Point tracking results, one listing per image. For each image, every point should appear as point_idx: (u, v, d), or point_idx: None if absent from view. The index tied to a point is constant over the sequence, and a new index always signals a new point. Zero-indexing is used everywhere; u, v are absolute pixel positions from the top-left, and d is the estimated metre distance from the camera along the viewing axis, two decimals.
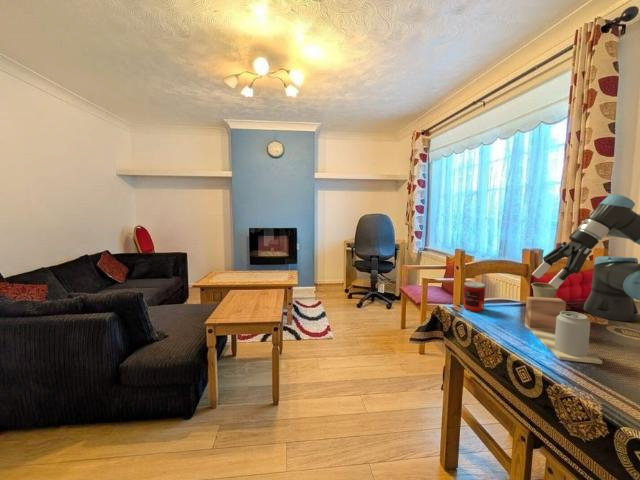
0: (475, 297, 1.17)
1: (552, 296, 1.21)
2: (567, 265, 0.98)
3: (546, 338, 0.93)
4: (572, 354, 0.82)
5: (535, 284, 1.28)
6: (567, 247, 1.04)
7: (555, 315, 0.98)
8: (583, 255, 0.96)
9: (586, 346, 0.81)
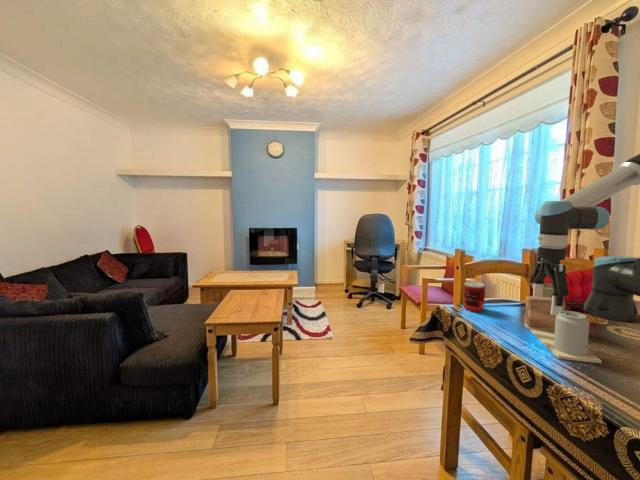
0: (475, 297, 1.17)
1: None
2: (554, 289, 0.92)
3: (545, 337, 0.93)
4: (571, 353, 0.82)
5: None
6: (543, 266, 0.99)
7: None
8: (561, 274, 0.90)
9: (585, 345, 0.82)
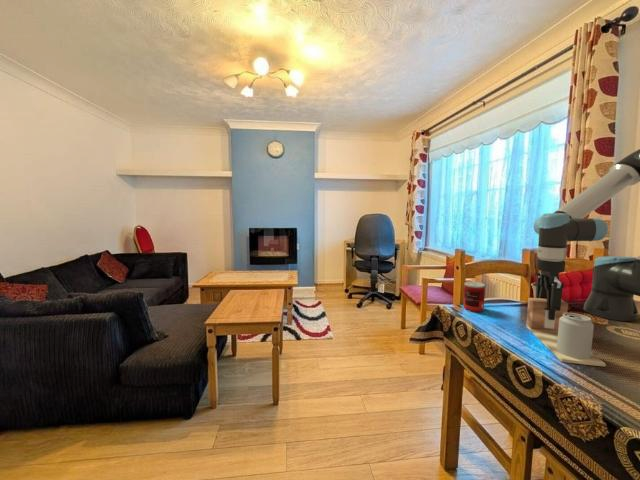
0: (475, 297, 1.17)
1: None
2: (547, 304, 0.96)
3: (548, 340, 0.91)
4: (575, 356, 0.81)
5: (535, 284, 1.28)
6: (543, 277, 0.99)
7: (557, 316, 0.97)
8: (557, 291, 0.93)
9: (589, 348, 0.80)
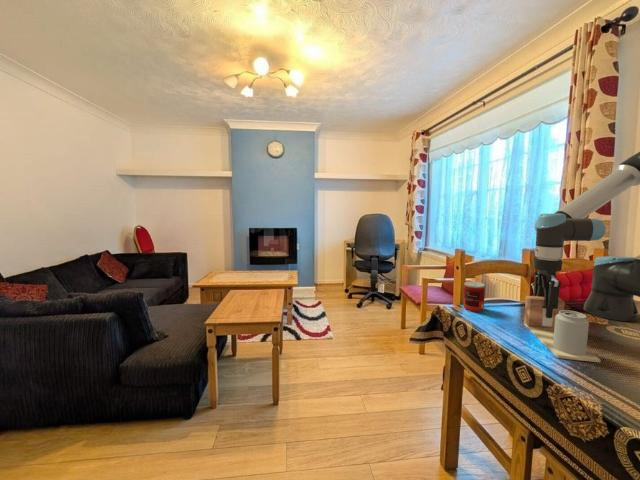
0: (475, 297, 1.17)
1: None
2: (545, 302, 0.98)
3: (545, 337, 0.93)
4: (571, 353, 0.83)
5: None
6: (540, 276, 1.01)
7: (554, 314, 0.99)
8: (555, 289, 0.95)
9: (584, 345, 0.82)
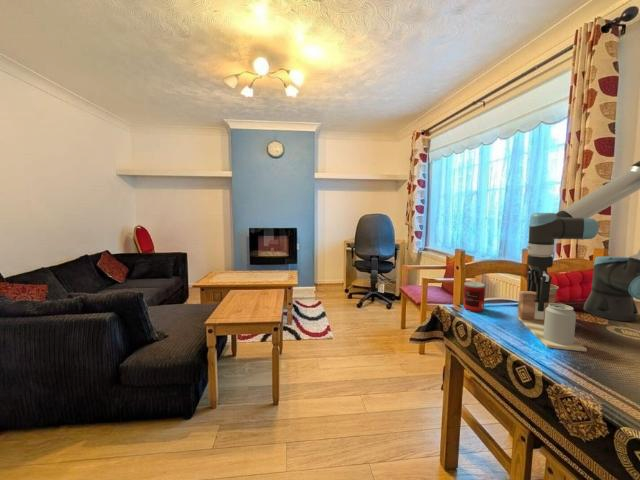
0: (475, 297, 1.17)
1: None
2: (537, 296, 1.04)
3: (536, 329, 0.99)
4: (559, 342, 0.89)
5: None
6: (533, 272, 1.07)
7: (545, 308, 1.05)
8: (546, 284, 1.00)
9: (572, 335, 0.88)
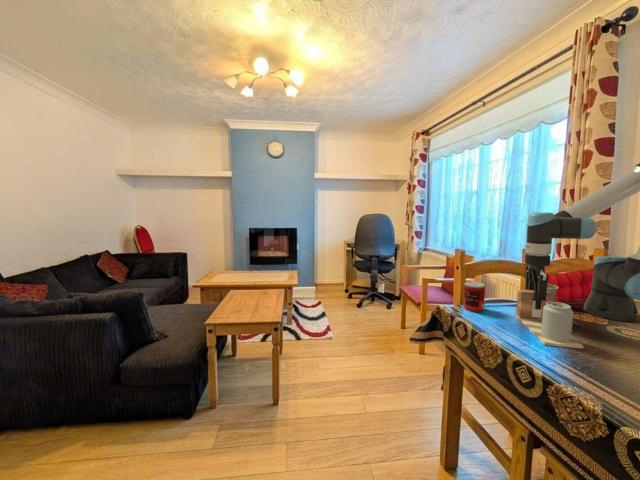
0: (475, 297, 1.17)
1: None
2: (534, 295, 1.06)
3: (534, 327, 1.01)
4: (554, 340, 0.91)
5: None
6: (530, 271, 1.09)
7: (543, 306, 1.06)
8: (543, 283, 1.02)
9: (568, 333, 0.90)
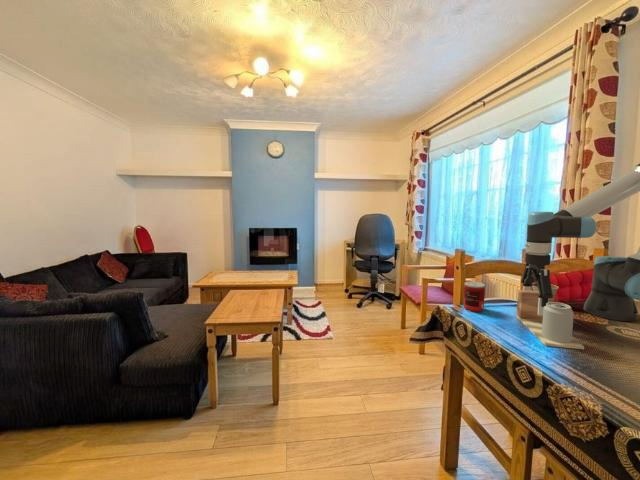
0: (475, 297, 1.17)
1: None
2: (540, 292, 1.02)
3: (535, 327, 1.01)
4: (546, 338, 0.92)
5: (535, 284, 1.28)
6: (530, 270, 1.09)
7: None
8: (545, 278, 1.01)
9: (561, 334, 0.89)
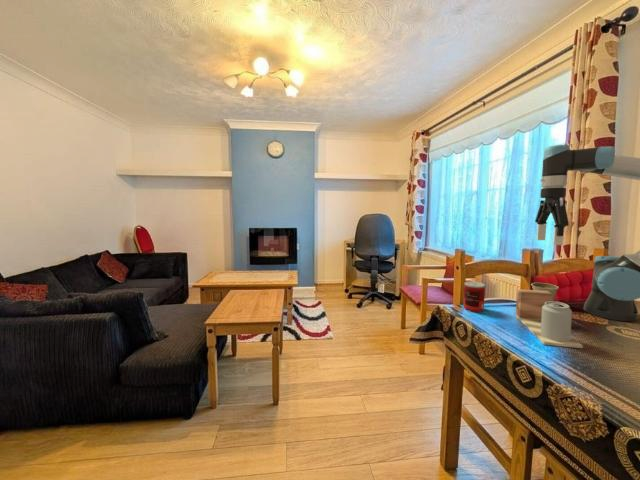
0: (475, 297, 1.17)
1: (552, 296, 1.21)
2: (556, 222, 1.06)
3: (534, 326, 1.01)
4: (545, 337, 0.93)
5: (535, 284, 1.28)
6: (546, 205, 1.12)
7: None
8: (561, 207, 1.04)
9: (559, 333, 0.90)
